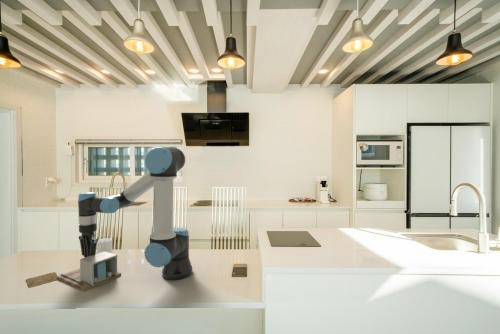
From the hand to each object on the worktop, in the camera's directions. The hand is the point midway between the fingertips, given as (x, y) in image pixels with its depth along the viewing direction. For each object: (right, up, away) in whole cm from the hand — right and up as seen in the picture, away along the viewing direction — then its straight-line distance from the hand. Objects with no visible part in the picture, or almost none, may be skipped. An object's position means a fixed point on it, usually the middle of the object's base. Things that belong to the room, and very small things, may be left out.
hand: (88, 270), depth 133 cm
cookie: (-21, -4, -3) cm, 21 cm away
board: (0, -3, 0) cm, 3 cm away
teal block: (+8, -2, -4) cm, 9 cm away
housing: (+8, -2, -4) cm, 9 cm away
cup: (-8, -3, +27) cm, 28 cm away
